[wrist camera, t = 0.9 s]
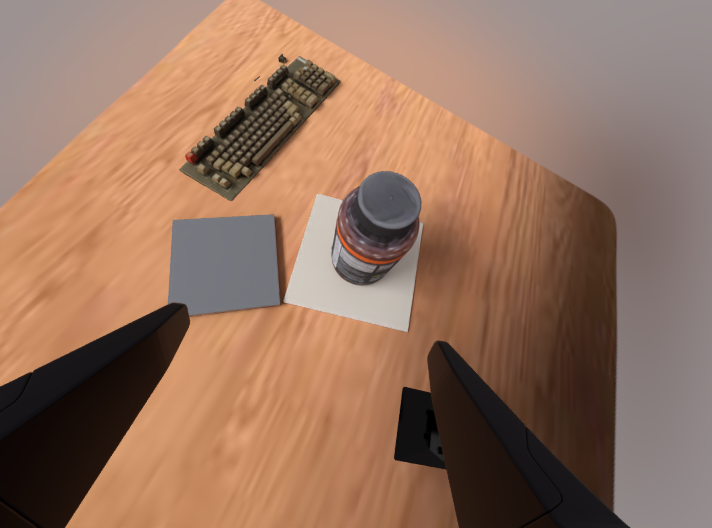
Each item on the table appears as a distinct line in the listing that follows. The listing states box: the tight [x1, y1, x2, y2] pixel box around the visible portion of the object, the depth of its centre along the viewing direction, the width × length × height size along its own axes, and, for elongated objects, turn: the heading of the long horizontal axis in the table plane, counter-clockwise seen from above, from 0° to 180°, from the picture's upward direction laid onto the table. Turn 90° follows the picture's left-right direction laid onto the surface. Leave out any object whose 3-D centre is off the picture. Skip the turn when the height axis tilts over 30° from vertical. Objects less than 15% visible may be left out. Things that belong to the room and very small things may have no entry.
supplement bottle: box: [331, 171, 421, 286], centre depth 21 cm, size 6×6×11 cm
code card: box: [283, 193, 423, 332], centre depth 26 cm, size 12×12×1 cm
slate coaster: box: [168, 214, 281, 317], centre depth 24 cm, size 9×9×1 cm
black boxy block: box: [394, 387, 446, 469], centre depth 21 cm, size 12×7×5 cm, turn 78°
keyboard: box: [180, 54, 340, 201], centre depth 29 cm, size 22×9×2 cm, turn 150°
